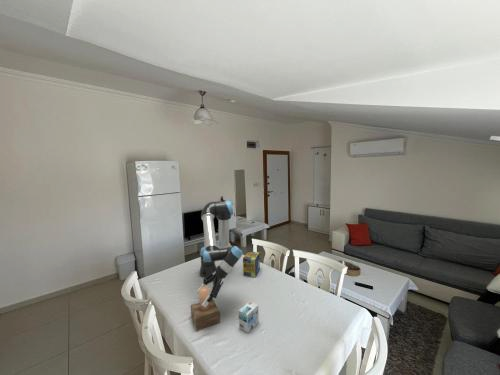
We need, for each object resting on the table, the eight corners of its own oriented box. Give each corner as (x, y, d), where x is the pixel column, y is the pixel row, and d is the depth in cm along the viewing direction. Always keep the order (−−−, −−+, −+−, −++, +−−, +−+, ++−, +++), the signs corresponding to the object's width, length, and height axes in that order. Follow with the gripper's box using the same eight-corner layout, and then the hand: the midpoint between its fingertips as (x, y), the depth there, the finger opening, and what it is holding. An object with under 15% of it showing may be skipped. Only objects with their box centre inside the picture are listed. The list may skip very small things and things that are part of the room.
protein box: (243, 276, 180) (242, 258, 178) (248, 267, 194) (248, 250, 193) (255, 277, 177) (254, 259, 175) (260, 269, 191) (259, 252, 190)
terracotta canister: (198, 306, 132) (197, 288, 130) (208, 303, 134) (207, 285, 133) (201, 312, 127) (200, 293, 125) (211, 309, 129) (210, 290, 128)
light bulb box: (248, 333, 119) (247, 315, 118) (238, 328, 123) (238, 310, 122) (259, 322, 128) (258, 304, 126) (250, 317, 132) (249, 300, 131)
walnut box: (191, 315, 134) (190, 304, 134) (213, 308, 141) (212, 298, 140) (196, 330, 122) (195, 319, 121) (220, 322, 128) (219, 311, 127)
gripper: (235, 281, 124) (211, 314, 119) (221, 264, 146) (200, 291, 141) (226, 275, 121) (201, 309, 116) (213, 258, 143) (191, 286, 138)
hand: (200, 299), depth 129 cm, fingers open, 13 cm apart
